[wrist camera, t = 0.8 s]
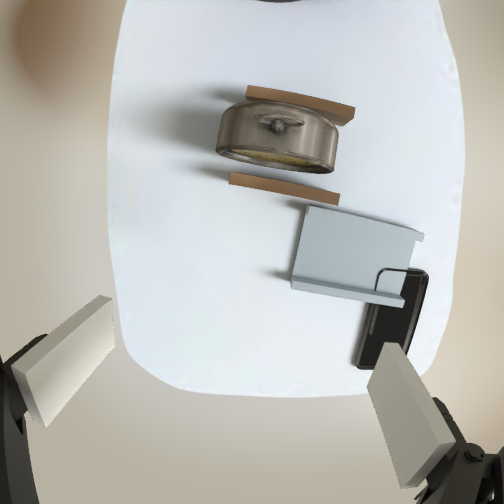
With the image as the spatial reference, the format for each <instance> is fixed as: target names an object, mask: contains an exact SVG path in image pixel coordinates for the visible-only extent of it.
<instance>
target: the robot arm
mask: <svg viewBox="0 0 504 504" xmlns="http://www.w3.org/2000/svg"><path fill="white" fill-rule="evenodd" d="M262 1H268V2H293V1H299V0H262ZM114 347H115V334H114V323H113V305H112V298H109V297H105V296H101V295H99V296H98V297H96V298H95V299H94V300H92V301H91V302H90V303H88V304H87V305H86V306H84V307H83V308H82V309H80V310H79V311H78V312H76V313H75V314H74V315H73V316H71V317H70V318H69V319H68V320H66V321H65V322H64V323H63V324H61V325H60V326H59V327H57V328H56V329H55V330H54V331H52V332H51V333H50V334H43V335H40V336H38V337H36V338H34V339H33V340H32V341H30V342H29V343H28V345H25V346H24V347H23V348H22V349H21V350H20V351H18V352H17V353H15V354H14V355H13V356H12V357H11V358H9V359H8V360H7V361H6V362H5V363H3V362H2V359H1V356H0V504H39V500H38V496H37V492H36V488H35V483H34V479H33V473H32V468H31V461H30V455H29V448H28V440H27V431H26V421H25V417H24V414H25V412H26V411H27V410H28V412H29V414H30V416H31V418H32V420H33V421H35V422H37V423H38V424H40V425H42V426H43V427H45V428H47V427H48V426H49V424H50V423H51V422H52V420H53V419H54V418H55V417H56V415H57V414H58V413H59V412H60V410H61V409H62V408H63V407H64V406H65V405H66V403H67V402H68V401H69V400H70V398H71V397H72V396H73V395H74V394H75V392H76V391H77V390H78V389H79V388H80V386H81V385H82V384H83V383H84V382H85V380H86V379H87V378H88V377H89V376H90V375H91V373H92V372H93V371H94V370H95V369H96V368H97V366H98V365H99V364H100V362H102V360H103V359H104V358H105V357H106V356H107V355H108V354H109V352H110V351H111V350H112V349H113V348H114ZM367 389H368V392H369V395H370V397H371V400H372V403H373V406H374V408H375V411H376V414H377V417H378V420H379V423H380V426H381V428H382V431H383V434H384V437H385V440H386V443H387V446H388V449H389V453H390V456H391V459H392V462H393V465H394V468H395V471H396V475H397V478H398V481H399V485H400V488H401V489H408V488H413V487H418V486H419V485H420V483H421V482H422V481H423V480H424V479H425V478H426V480H427V483H428V485H427V486H426V487H425V488H424V489H423V490H422V491H421V492H420V493H419V494H418V495H417V496H416V497H415V498H414V499H415V500H417V499H418V498H419V497H420V498H419V500H418V501H417V503H416V504H504V447H502V449H501V450H500V451H499V452H498V454H485V452H484V450H483V449H482V448H481V447H480V446H478V445H476V444H473V443H466V440H465V439H464V437H463V435H462V433H461V432H460V430H459V428H458V426H457V425H456V423H455V421H453V418H452V416H451V415H450V414H449V411H448V410H447V408H446V406H445V404H444V403H442V402H441V401H440V400H439V399H438V398H436V397H433V398H432V397H431V396H430V394H429V392H428V391H427V389H426V387H425V385H424V384H423V382H422V381H421V379H420V377H419V376H418V374H417V372H416V371H415V369H414V367H413V366H412V364H411V363H410V361H409V359H408V358H407V356H406V355H405V353H404V352H403V350H402V348H401V347H400V345H399V344H398V343H387V342H385V343H384V345H383V348H382V351H381V353H380V356H379V358H378V361H377V363H376V366H375V368H374V371H373V373H372V375H371V378H370V380H369V382H368V385H367ZM493 493H494V499H493V500H492V494H493Z"/></svg>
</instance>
